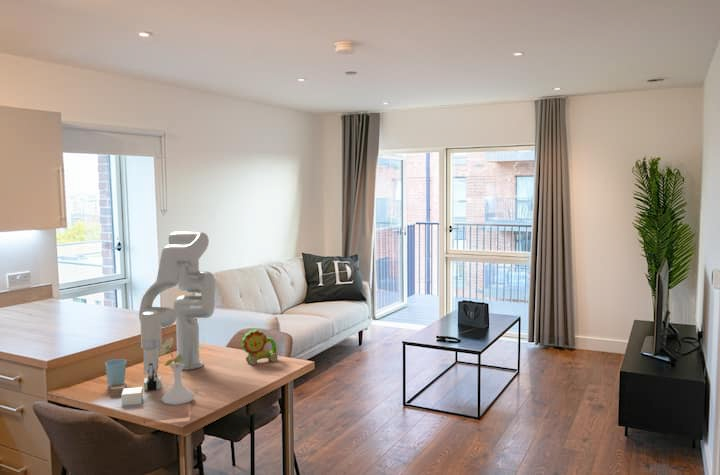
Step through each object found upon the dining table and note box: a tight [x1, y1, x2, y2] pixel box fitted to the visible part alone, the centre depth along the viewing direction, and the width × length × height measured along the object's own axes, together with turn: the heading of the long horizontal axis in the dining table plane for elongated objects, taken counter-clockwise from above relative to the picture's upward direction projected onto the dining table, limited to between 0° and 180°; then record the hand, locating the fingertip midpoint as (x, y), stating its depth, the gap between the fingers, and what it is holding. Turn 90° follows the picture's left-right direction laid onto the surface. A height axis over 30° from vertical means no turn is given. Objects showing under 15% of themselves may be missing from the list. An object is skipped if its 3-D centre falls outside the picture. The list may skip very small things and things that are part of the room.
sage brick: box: [143, 376, 162, 392], centre depth 221 cm, size 6×6×4 cm
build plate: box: [115, 394, 149, 409], centre depth 206 cm, size 10×10×1 cm
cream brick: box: [120, 386, 144, 405], centre depth 205 cm, size 6×6×4 cm
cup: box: [104, 358, 127, 388], centre depth 222 cm, size 8×8×10 cm
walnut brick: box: [109, 382, 127, 397], centre depth 213 cm, size 5×5×4 cm
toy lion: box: [241, 329, 278, 366], centre depth 256 cm, size 16×5×15 cm, turn 120°
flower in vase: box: [158, 336, 195, 406], centre depth 206 cm, size 13×11×25 cm
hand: (152, 387), depth 221 cm, fingers closed on sage brick, 6 cm apart
